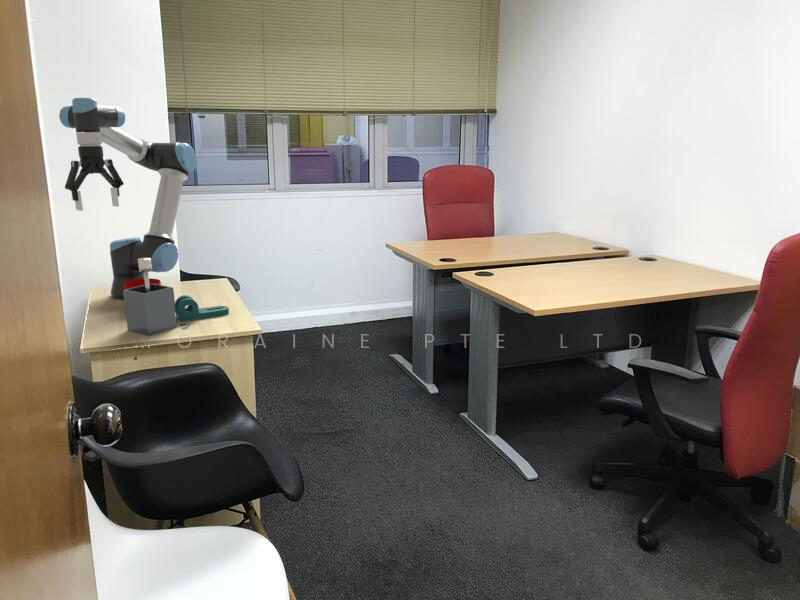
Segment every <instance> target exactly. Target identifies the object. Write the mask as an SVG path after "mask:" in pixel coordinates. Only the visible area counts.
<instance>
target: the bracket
mask: <svg viewBox="0 0 800 600" xmlns="http://www.w3.org/2000/svg"><path fill="white" fill-rule="evenodd" d="M186 306H187V307H186ZM199 307H200V306H199V304H198V303H197V301H195V300H194V299H193V297H192V296H189V295H185V294H183V295H181V296H178V297H177V299H176V300H175V310H176V313H175V317H176V320H178V321H179V323H182V322H189V321H194V320H196V321H197V320H204V319H210V318H216V317H217V318H218V317H223V316H226V315H229V314H230V310H229V309H230V308H229V306H227V305H216V306H215V305H214V306H209V307H208V306H207V307H200V308H199Z"/></svg>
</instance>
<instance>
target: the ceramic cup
mask: <svg viewBox="0 0 800 600" xmlns="http://www.w3.org/2000/svg"><path fill="white" fill-rule="evenodd" d="M151 283H152V284H158V285H162V282H161V279H158V278H149V284H151ZM142 285H145V280H144V279H136V280H131V281H128V282H125V283H124V290H125V289H129V288H134V287H138V286H142Z"/></svg>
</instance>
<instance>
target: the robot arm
mask: <svg viewBox="0 0 800 600" xmlns="http://www.w3.org/2000/svg"><path fill="white" fill-rule="evenodd" d="M58 116H59V117H58V118H59V122H61V124H62V126H64V127H65V128H69V129H75V133H76V134H75V135H76V141H77V145H79V146H78V147H77V151H78V156H79V161H78V160H71V161H70V170H69V173H68V176H67V179H66V181H65V182H66V183H65V185H64V189H65V190H68V191H70V192H71V199H72V200H73V201H74V204H75V209H76V211H80V212H81V211H84V209H83V201H82V195H81V190H79V189H80V187H81V185H83V182H84V181H85V179H86V178H87V176H88V175H89V174H90V175H91V174H100V175H101V176H102V177H103V178H104V179H105V180H106V181H107V182H108V184H109V185H110V186H111V187H110V188H109V189H110V194H111V195H110V196H111V203H112V207H115V208H116V207H120V204H119V201H120V200H119V197H120V194H121V193H120V188H121V187H122V186H124V182H123V180H122V178H121V177H120V175H119V172H118V171H117V170H116V168H115V166H114V163H113V160H112V159H111V158H110V159H108V158H106V159H105V160H104V150H103V146H102V144H103V143H104V144H106V145H107V146H109V147H111V148H113V149H115V150H117V151H118V152H121V153H123V154H124V155H126V156H127V158H128V159H129V160H130V161H132V162H134V164H137V165H139V166H141V167H144V168H146V169H147V170H151V171H154V172H158V174H159V175H160V180H159V184H158V188H157V194H156V199H155V204H154V208H153V213H152V218H151V221H150V226H149V231H148V232H146V233H145V234H144V235H143V240H141V238H140V237H139V236H133V237H126V238H122V239H116V240H113V241H111V243H110V244H109V252H110V261H111V268H112V274H113V275H112V276H113V280H112V284H111V289H110V296H111V298H112V299H114V300H115V299H116V300H124V296H123V290H124V283H125V282H128V281H131V280H136V279H144V272H139V265H138V259H140V258H151V264H152V271H151V272H152V273H153V272H154V273H166V272H170V271H172V269H174V267H176V265H177V263H178V259H179V252H178V251H179V250H178V247H177V245H175V243H176V241H175V240H174V238H173V231H174V226H175V221H176V217H177V213H178V208H179V203H180V198H181V194H182V189H183V183H184V182H186V181H187V180H188V179H189V178H188V177H189V176H190V175H189V174H190V173H194V172H195V171H196V169H197V167H198V158H197V155H196V152H195V149H194V148H193V147H192V146H191V145H190V144H188V143H186V142H179V141H178V142H150V141H146V140H144V139H142V138H136V137H134V136H133V135H130V134H129V133H127V132H126V131H124V130H123V129H120V127H122V126H124V124H125V122H126V115H125V111H124V109H122V108H121V107H120V106H118V105H113V104H112V105H111V104H98V102H97V100H96V98H95V97H74V98H73V99H72V105H68V106H64V107H62V108H61V109H60V110H59V115H58ZM104 166H105V167H106V168H107V169H106V168H105V167H104ZM80 167H81V169H80ZM79 169H80V171H79ZM108 172H109V173H108ZM78 173H79V174H78Z"/></svg>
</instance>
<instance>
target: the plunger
mask: <svg viewBox="0 0 800 600" xmlns="http://www.w3.org/2000/svg"><path fill="white" fill-rule="evenodd" d="M138 265H139V272H144V280H145V289H146V293H148V292H150V284H149V279H150V276H149V272H150V273H151V272H152V264H151V258H140V259H138Z"/></svg>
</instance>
